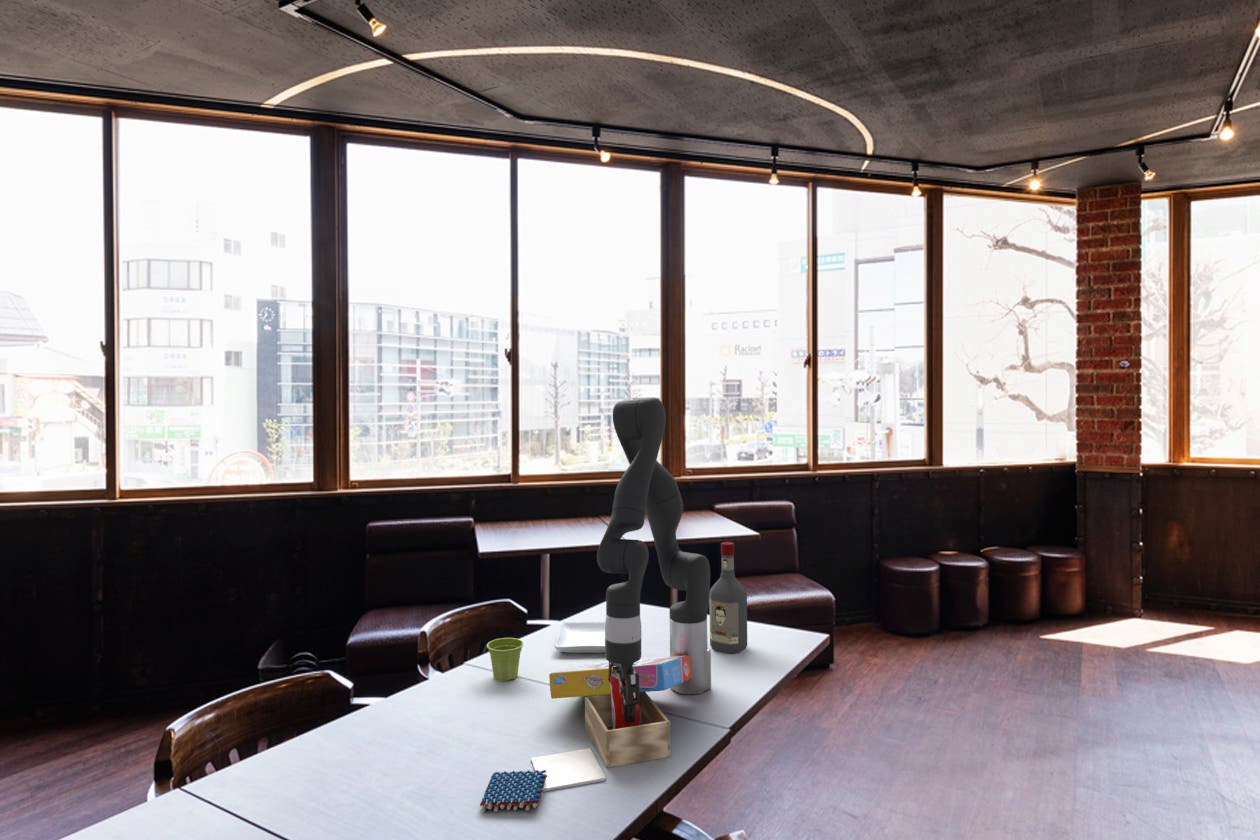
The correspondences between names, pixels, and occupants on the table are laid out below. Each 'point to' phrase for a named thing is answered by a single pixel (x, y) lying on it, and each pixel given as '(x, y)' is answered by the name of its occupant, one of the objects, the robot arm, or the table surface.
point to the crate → (627, 732)
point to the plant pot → (505, 657)
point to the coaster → (569, 769)
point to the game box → (595, 677)
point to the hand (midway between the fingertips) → (623, 713)
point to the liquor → (728, 608)
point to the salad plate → (581, 637)
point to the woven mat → (514, 790)
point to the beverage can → (620, 706)
